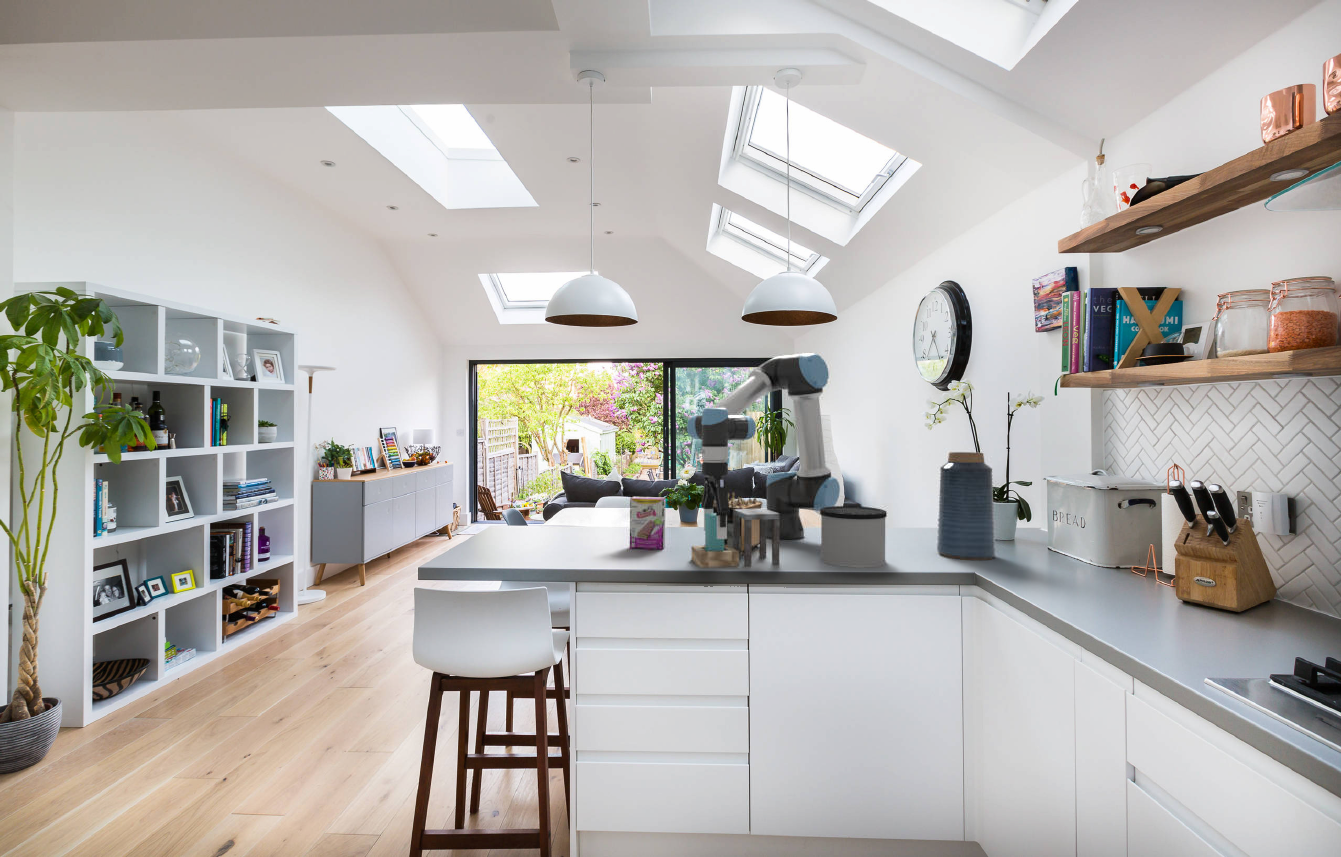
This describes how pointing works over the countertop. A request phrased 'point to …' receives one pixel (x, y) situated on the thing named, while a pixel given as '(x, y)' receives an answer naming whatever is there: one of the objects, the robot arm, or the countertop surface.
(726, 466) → the robot arm
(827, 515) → the container
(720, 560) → the socket station
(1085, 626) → the countertop surface
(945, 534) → the vase
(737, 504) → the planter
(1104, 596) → the countertop surface
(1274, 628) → the countertop surface
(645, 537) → the candy bar box
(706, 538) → the peg
